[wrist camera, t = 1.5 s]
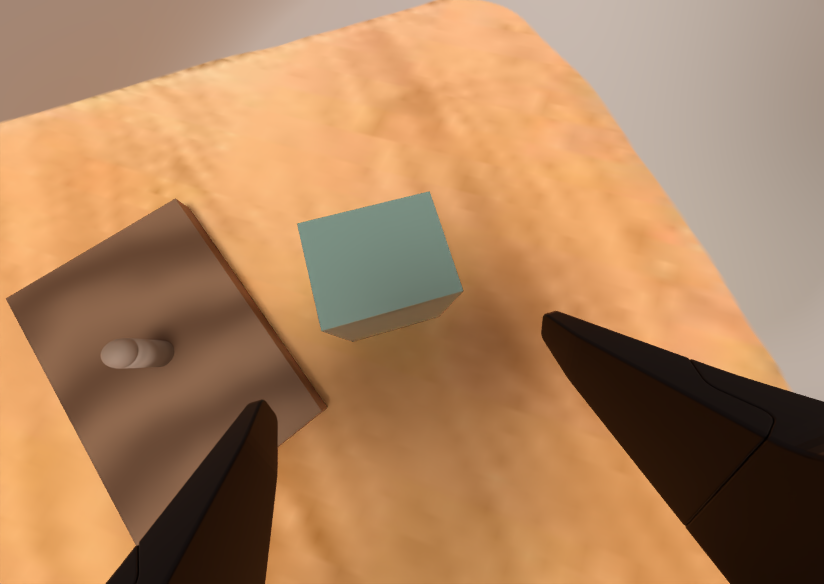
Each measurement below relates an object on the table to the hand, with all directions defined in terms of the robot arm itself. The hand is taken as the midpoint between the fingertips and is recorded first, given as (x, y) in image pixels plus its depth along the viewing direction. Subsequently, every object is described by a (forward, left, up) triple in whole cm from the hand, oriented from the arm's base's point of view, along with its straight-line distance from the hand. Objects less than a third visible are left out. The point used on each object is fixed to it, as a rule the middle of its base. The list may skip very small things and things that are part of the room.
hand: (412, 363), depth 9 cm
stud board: (+11, +13, -13) cm, 22 cm away
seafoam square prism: (+5, -2, -13) cm, 14 cm away
